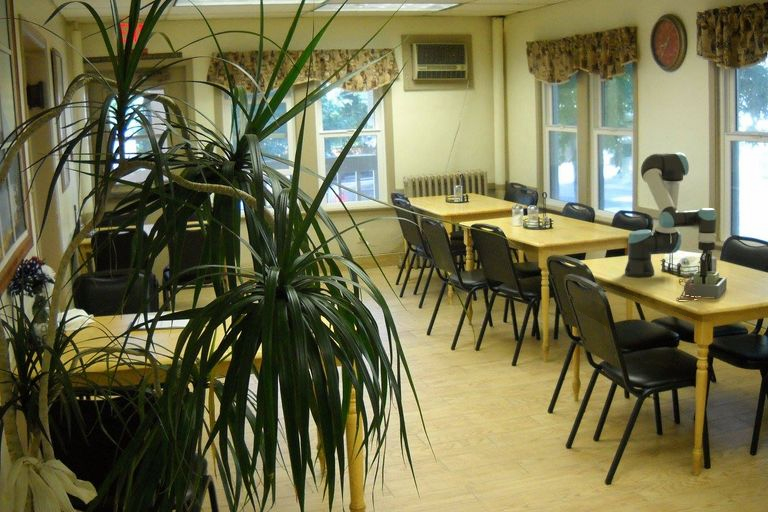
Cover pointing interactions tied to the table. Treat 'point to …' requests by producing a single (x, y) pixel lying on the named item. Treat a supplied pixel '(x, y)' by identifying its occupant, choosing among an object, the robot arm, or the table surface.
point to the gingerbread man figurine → (687, 289)
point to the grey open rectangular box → (707, 288)
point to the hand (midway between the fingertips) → (705, 288)
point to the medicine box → (714, 263)
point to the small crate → (711, 278)
